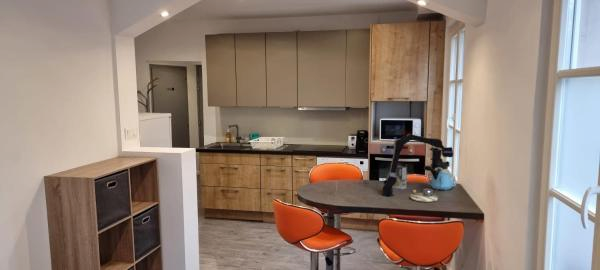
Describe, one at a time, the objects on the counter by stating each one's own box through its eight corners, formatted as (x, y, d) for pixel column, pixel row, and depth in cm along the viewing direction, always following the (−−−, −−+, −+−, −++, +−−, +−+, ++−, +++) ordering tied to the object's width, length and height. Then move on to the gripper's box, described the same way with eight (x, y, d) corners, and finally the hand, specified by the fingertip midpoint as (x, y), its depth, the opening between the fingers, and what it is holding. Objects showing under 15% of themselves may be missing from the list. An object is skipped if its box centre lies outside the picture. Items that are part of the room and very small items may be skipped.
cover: (428, 197, 264) (429, 191, 264) (421, 195, 269) (421, 189, 269) (434, 195, 268) (434, 189, 267) (427, 193, 273) (427, 188, 272)
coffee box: (407, 188, 297) (407, 166, 295) (401, 189, 293) (402, 168, 291) (396, 186, 304) (397, 165, 302) (391, 187, 299) (392, 166, 298)
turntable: (426, 203, 254) (426, 196, 253) (404, 197, 268) (404, 191, 268) (443, 199, 264) (443, 192, 264) (421, 193, 279) (421, 187, 278)
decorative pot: (439, 192, 285) (440, 173, 283) (425, 187, 300) (425, 169, 298) (457, 190, 291) (458, 172, 289) (442, 185, 306) (443, 168, 304)
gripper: (438, 159, 259) (437, 183, 260) (455, 157, 270) (454, 180, 271) (424, 157, 268) (423, 180, 269) (440, 155, 279) (440, 177, 280)
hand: (435, 179), depth 272 cm, fingers closed
